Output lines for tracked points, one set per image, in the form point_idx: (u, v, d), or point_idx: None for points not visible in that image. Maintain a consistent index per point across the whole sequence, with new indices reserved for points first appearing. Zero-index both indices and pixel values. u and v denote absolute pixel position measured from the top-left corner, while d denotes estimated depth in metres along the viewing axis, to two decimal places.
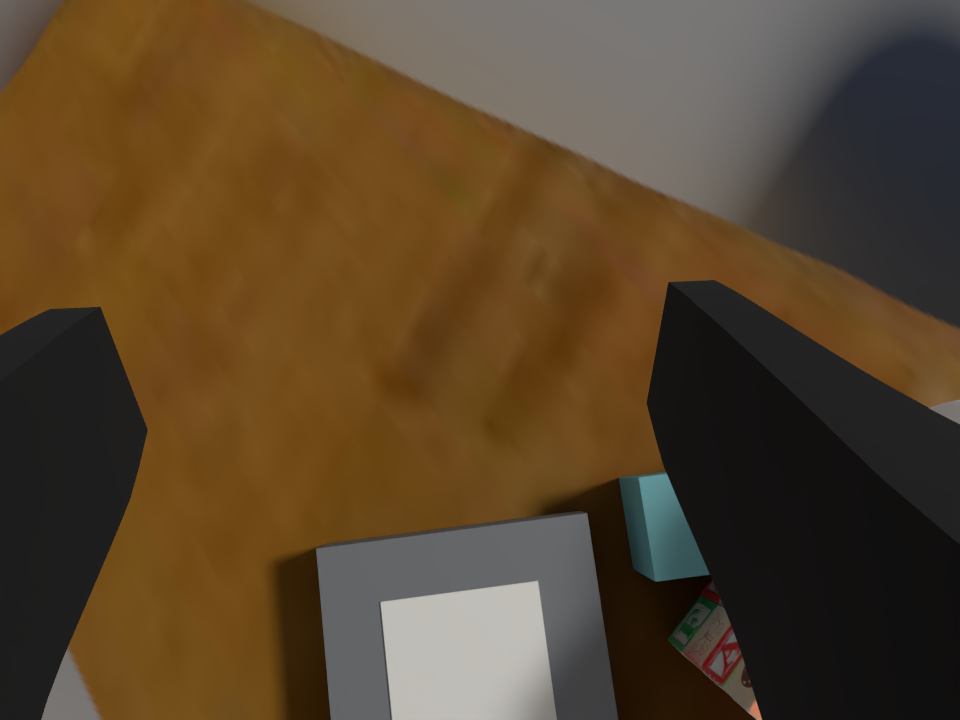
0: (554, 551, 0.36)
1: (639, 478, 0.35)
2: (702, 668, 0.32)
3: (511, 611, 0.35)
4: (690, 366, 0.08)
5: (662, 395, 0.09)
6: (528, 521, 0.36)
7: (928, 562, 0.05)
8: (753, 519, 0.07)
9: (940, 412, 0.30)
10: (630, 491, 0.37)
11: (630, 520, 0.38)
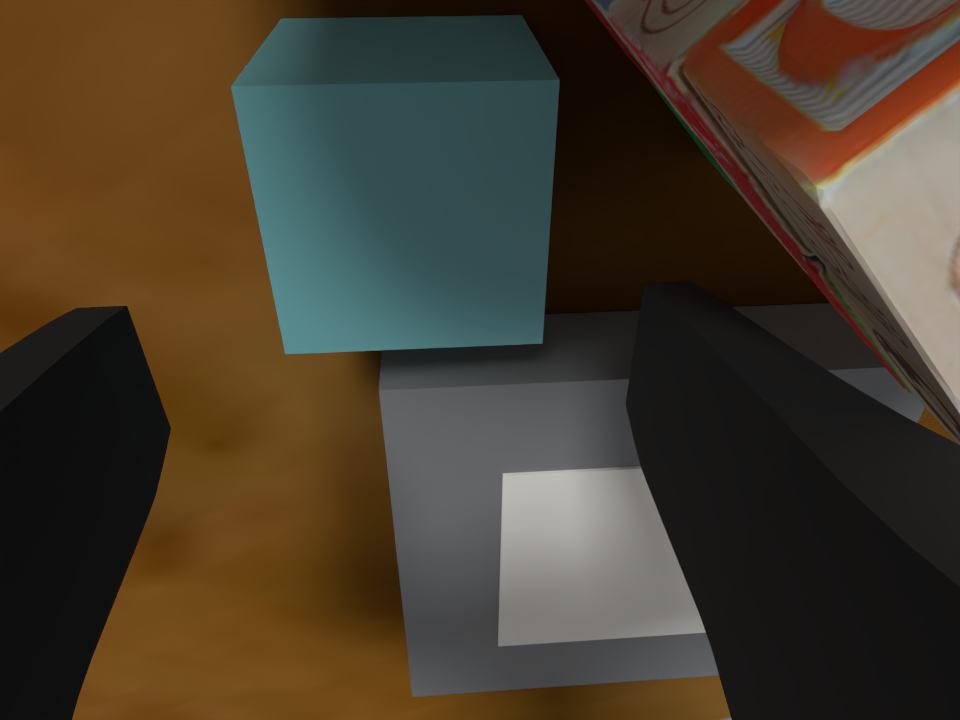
0: (452, 447, 0.18)
1: (288, 352, 0.14)
2: (822, 292, 0.12)
3: (547, 513, 0.20)
4: (664, 367, 0.08)
5: (639, 396, 0.09)
6: (390, 478, 0.19)
7: (882, 565, 0.05)
8: (723, 521, 0.07)
9: None
10: None
11: None
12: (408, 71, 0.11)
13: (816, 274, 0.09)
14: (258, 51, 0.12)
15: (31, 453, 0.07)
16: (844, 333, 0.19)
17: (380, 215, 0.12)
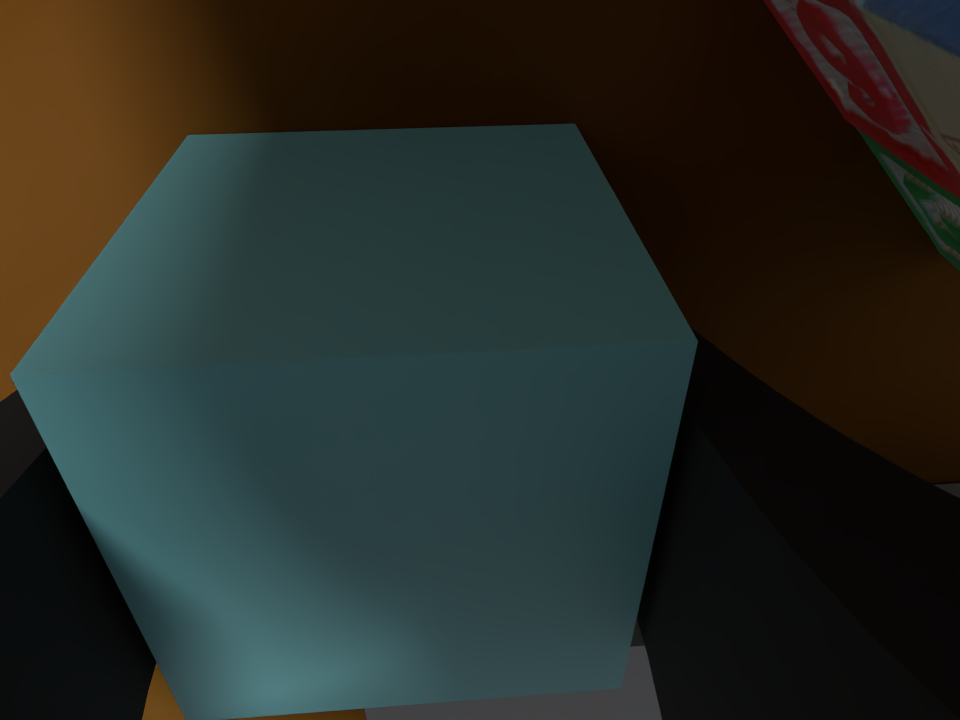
0: None
1: (191, 719, 0.08)
2: None
3: None
4: None
5: None
6: None
7: (775, 573, 0.05)
8: None
9: None
10: None
11: None
12: (387, 309, 0.06)
13: None
14: (114, 238, 0.07)
15: None
16: None
17: (340, 549, 0.06)
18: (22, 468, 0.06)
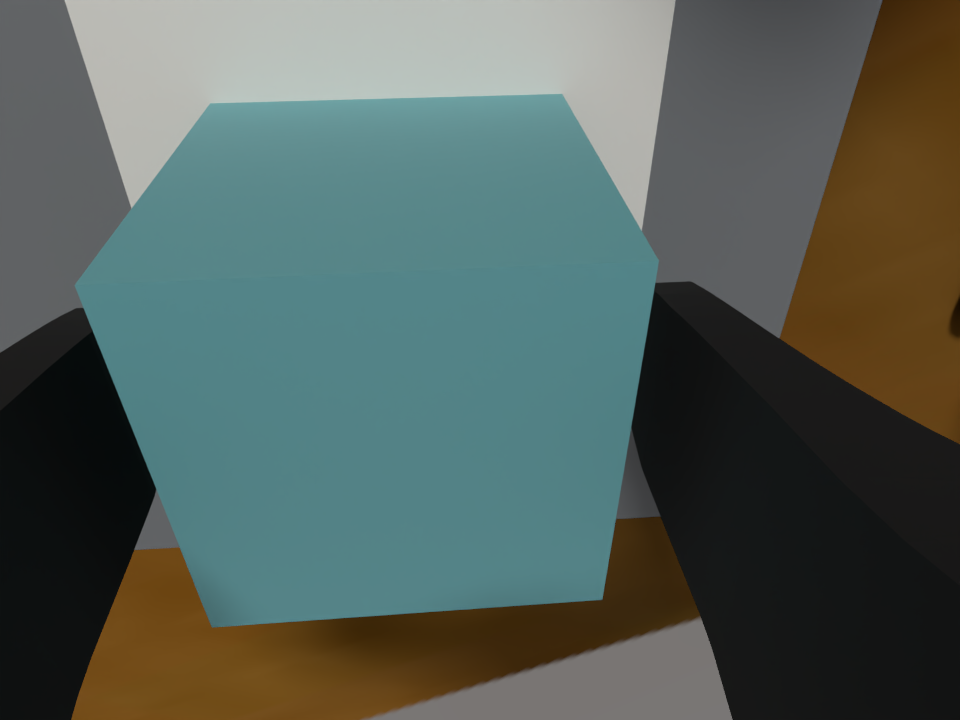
0: None
1: (216, 624, 0.09)
2: None
3: (194, 110, 0.10)
4: (665, 367, 0.08)
5: (639, 396, 0.09)
6: None
7: (883, 564, 0.05)
8: (724, 521, 0.07)
9: None
10: None
11: None
12: (393, 237, 0.07)
13: None
14: (152, 184, 0.08)
15: (30, 453, 0.07)
16: None
17: (351, 456, 0.07)
18: None
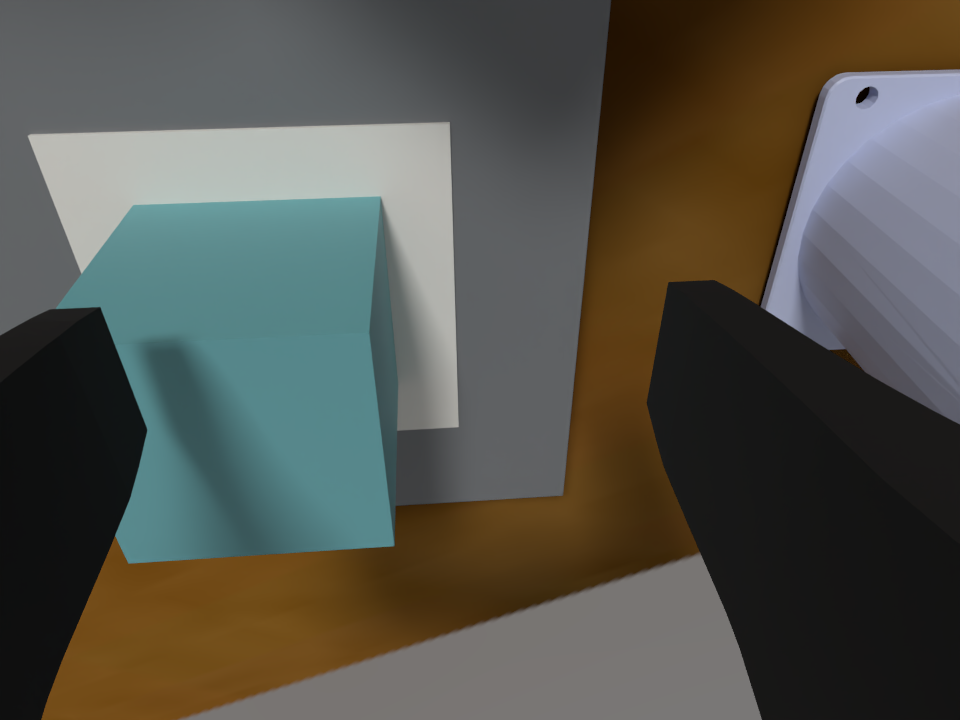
0: None
1: (131, 561, 0.13)
2: None
3: (122, 209, 0.14)
4: (690, 366, 0.08)
5: (662, 395, 0.09)
6: None
7: (929, 562, 0.05)
8: (753, 519, 0.07)
9: None
10: None
11: None
12: (219, 316, 0.11)
13: None
14: (81, 276, 0.12)
15: None
16: None
17: (204, 448, 0.12)
18: None
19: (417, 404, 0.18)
